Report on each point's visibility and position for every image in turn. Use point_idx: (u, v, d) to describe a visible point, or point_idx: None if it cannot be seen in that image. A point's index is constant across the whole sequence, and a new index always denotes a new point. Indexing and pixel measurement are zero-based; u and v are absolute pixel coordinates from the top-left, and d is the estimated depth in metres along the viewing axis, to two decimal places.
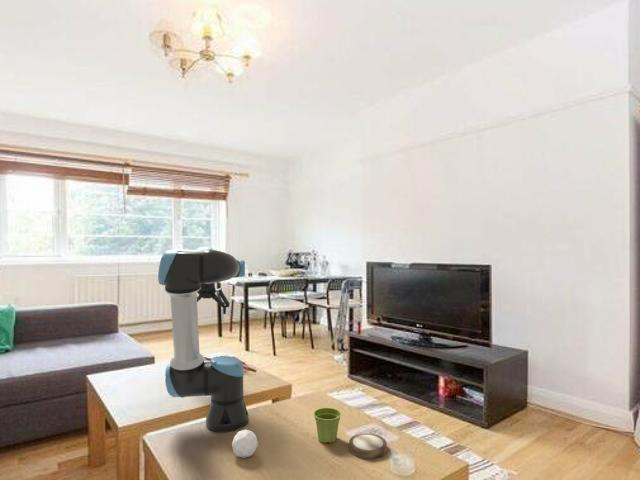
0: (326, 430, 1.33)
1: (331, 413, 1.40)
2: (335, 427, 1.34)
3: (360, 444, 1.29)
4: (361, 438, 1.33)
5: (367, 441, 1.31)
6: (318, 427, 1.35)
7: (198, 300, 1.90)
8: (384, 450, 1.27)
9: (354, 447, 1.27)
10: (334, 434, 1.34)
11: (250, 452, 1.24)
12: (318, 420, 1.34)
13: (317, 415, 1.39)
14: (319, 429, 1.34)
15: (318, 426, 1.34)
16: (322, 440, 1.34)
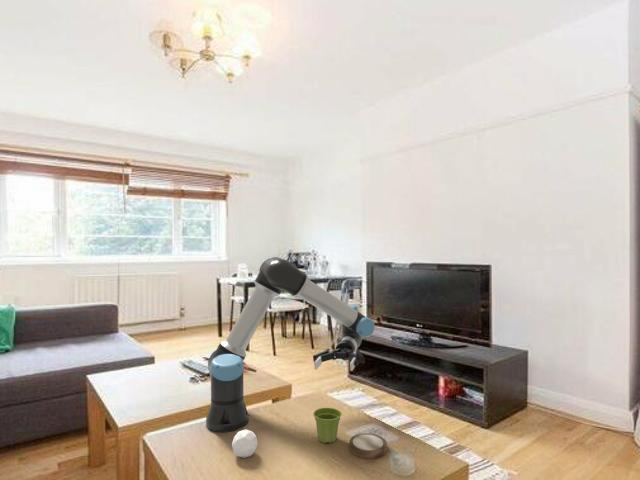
0: (326, 430, 1.33)
1: (331, 413, 1.40)
2: (335, 427, 1.34)
3: (360, 444, 1.29)
4: (361, 438, 1.33)
5: (367, 441, 1.31)
6: (318, 427, 1.35)
7: (330, 353, 1.61)
8: (384, 450, 1.27)
9: (354, 447, 1.27)
10: (334, 434, 1.34)
11: (250, 452, 1.24)
12: (318, 420, 1.34)
13: (317, 415, 1.39)
14: (319, 429, 1.34)
15: (318, 426, 1.34)
16: (322, 440, 1.34)
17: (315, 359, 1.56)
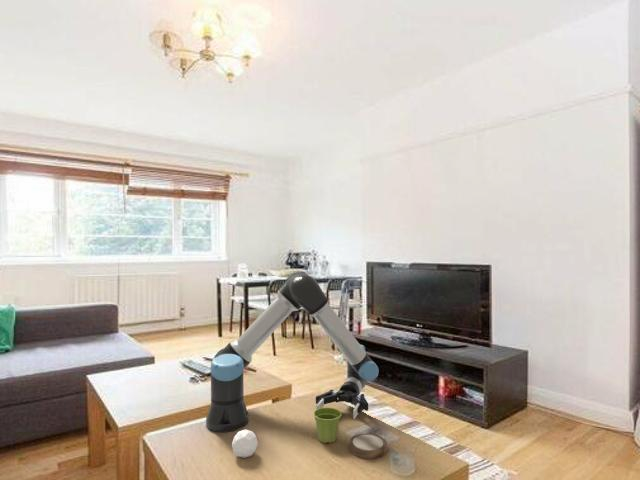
0: (326, 430, 1.33)
1: (331, 413, 1.40)
2: (335, 427, 1.34)
3: (360, 444, 1.29)
4: (361, 438, 1.33)
5: (367, 441, 1.31)
6: (318, 427, 1.35)
7: (334, 395, 1.56)
8: (384, 450, 1.27)
9: (354, 447, 1.27)
10: (334, 434, 1.34)
11: (250, 452, 1.24)
12: (318, 420, 1.34)
13: (317, 415, 1.39)
14: (319, 429, 1.34)
15: (318, 426, 1.34)
16: (322, 440, 1.34)
17: (317, 401, 1.51)
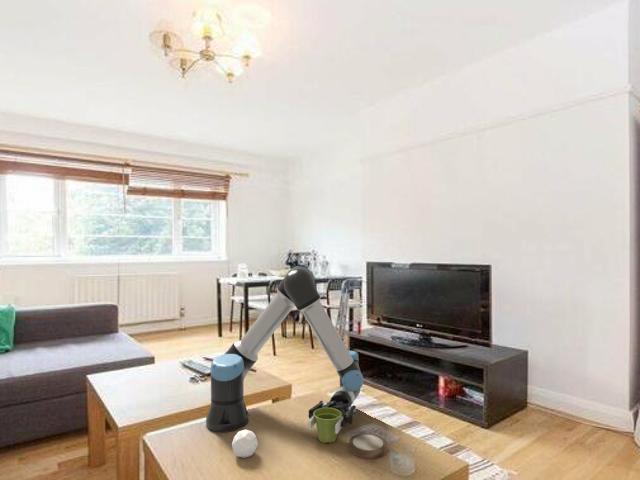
0: (326, 430, 1.33)
1: (331, 413, 1.40)
2: None
3: (360, 444, 1.29)
4: (361, 438, 1.33)
5: (367, 441, 1.31)
6: (318, 427, 1.35)
7: (326, 407, 1.44)
8: (384, 450, 1.27)
9: (354, 447, 1.27)
10: (334, 434, 1.34)
11: (250, 452, 1.24)
12: (318, 420, 1.34)
13: (317, 415, 1.39)
14: (319, 429, 1.34)
15: (318, 426, 1.34)
16: (322, 440, 1.34)
17: (310, 415, 1.39)
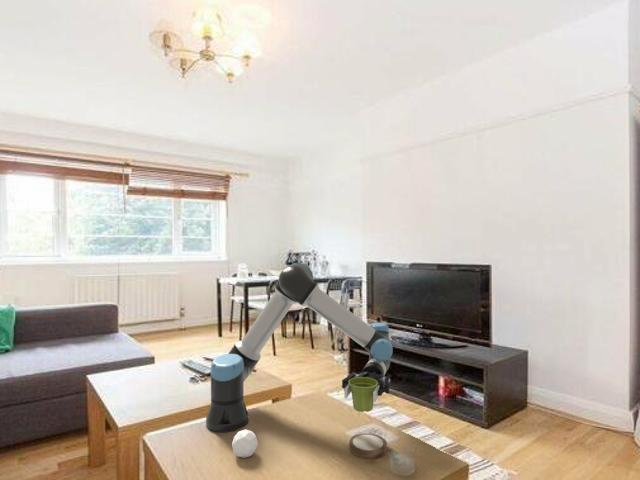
0: (363, 399, 1.28)
1: (365, 382, 1.35)
2: (372, 395, 1.29)
3: (360, 444, 1.29)
4: (361, 438, 1.33)
5: (367, 441, 1.31)
6: (354, 396, 1.29)
7: None
8: (384, 450, 1.27)
9: (354, 447, 1.27)
10: (370, 403, 1.29)
11: (250, 452, 1.24)
12: (354, 388, 1.28)
13: (352, 384, 1.33)
14: (355, 398, 1.29)
15: (354, 395, 1.29)
16: (358, 409, 1.29)
17: (345, 385, 1.34)
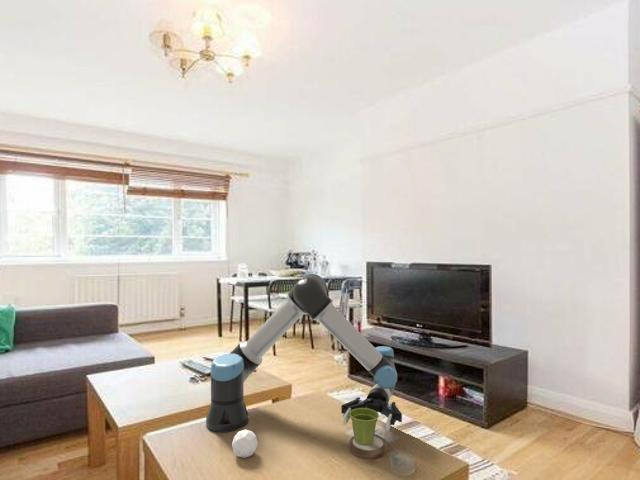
0: (364, 432, 1.28)
1: (367, 413, 1.35)
2: (373, 428, 1.29)
3: (360, 444, 1.29)
4: None
5: None
6: (355, 428, 1.29)
7: (361, 404, 1.39)
8: (384, 450, 1.27)
9: (354, 447, 1.27)
10: (371, 436, 1.29)
11: (250, 452, 1.24)
12: (355, 421, 1.28)
13: (353, 416, 1.33)
14: (356, 430, 1.29)
15: (355, 427, 1.29)
16: (359, 442, 1.29)
17: (344, 411, 1.35)
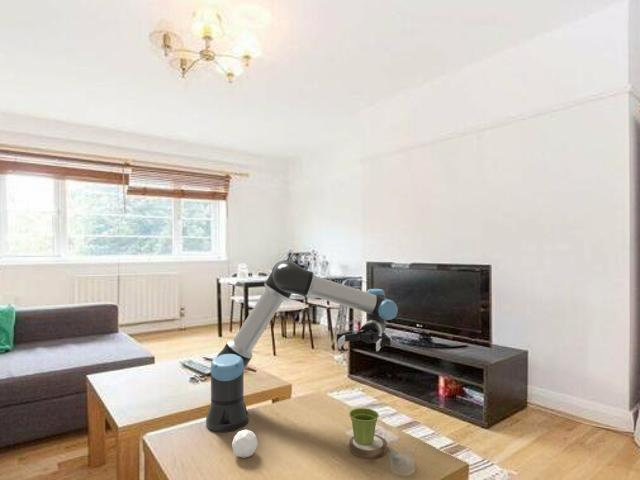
0: (363, 432, 1.28)
1: (366, 413, 1.35)
2: (372, 428, 1.29)
3: None
4: None
5: None
6: (355, 428, 1.29)
7: (355, 333, 1.54)
8: (384, 450, 1.27)
9: (354, 447, 1.27)
10: (371, 436, 1.29)
11: (250, 452, 1.24)
12: (355, 421, 1.28)
13: (353, 416, 1.33)
14: (356, 430, 1.29)
15: (355, 427, 1.29)
16: (359, 442, 1.29)
17: (339, 337, 1.49)
